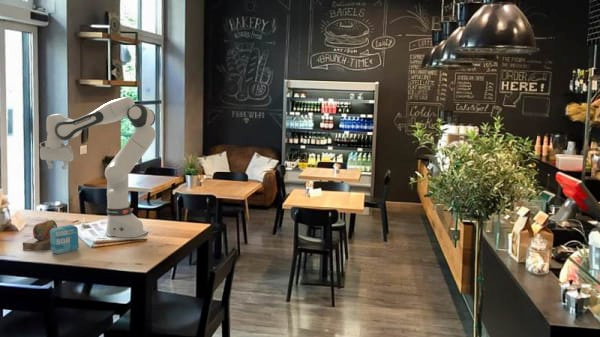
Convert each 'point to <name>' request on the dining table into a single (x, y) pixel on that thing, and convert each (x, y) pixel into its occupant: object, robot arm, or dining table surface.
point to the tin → (43, 229)
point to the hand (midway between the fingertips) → (57, 168)
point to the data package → (64, 239)
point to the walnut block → (37, 244)
